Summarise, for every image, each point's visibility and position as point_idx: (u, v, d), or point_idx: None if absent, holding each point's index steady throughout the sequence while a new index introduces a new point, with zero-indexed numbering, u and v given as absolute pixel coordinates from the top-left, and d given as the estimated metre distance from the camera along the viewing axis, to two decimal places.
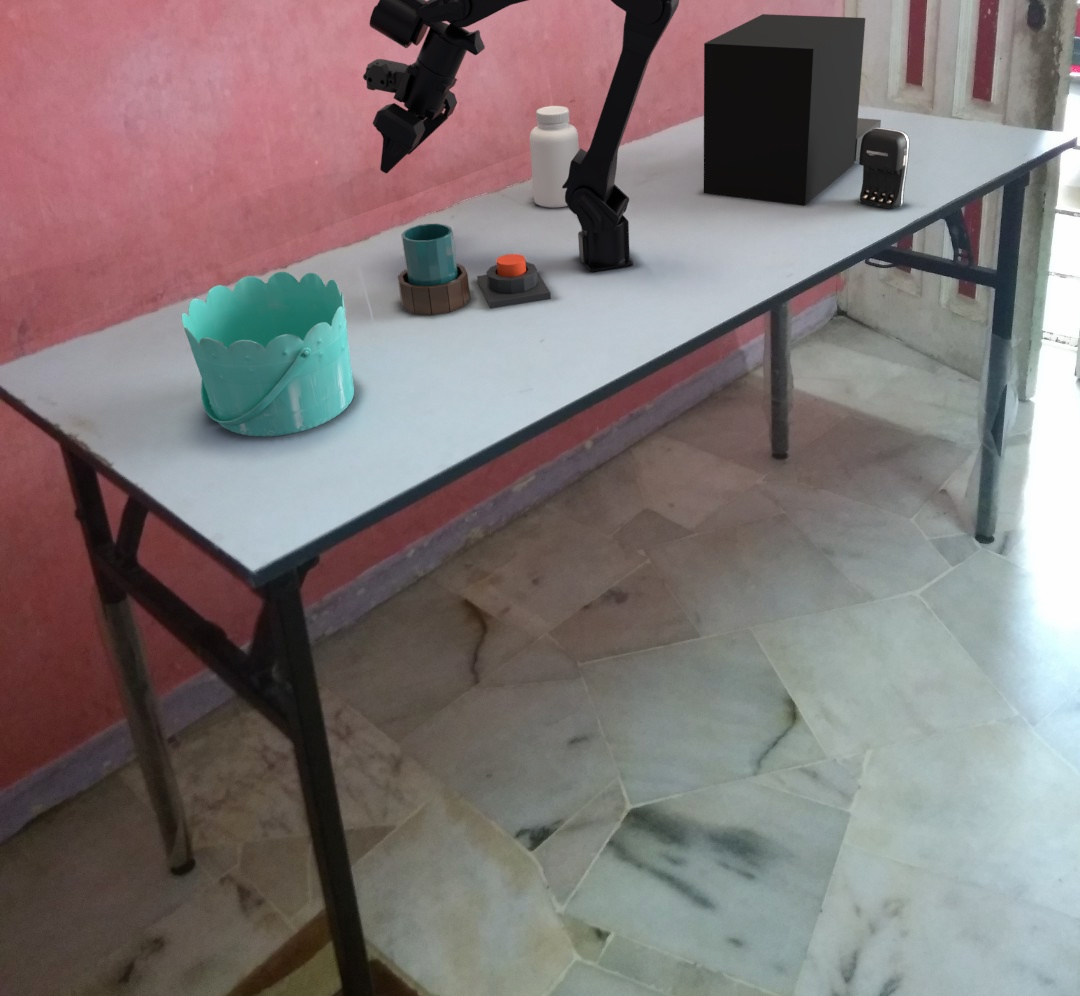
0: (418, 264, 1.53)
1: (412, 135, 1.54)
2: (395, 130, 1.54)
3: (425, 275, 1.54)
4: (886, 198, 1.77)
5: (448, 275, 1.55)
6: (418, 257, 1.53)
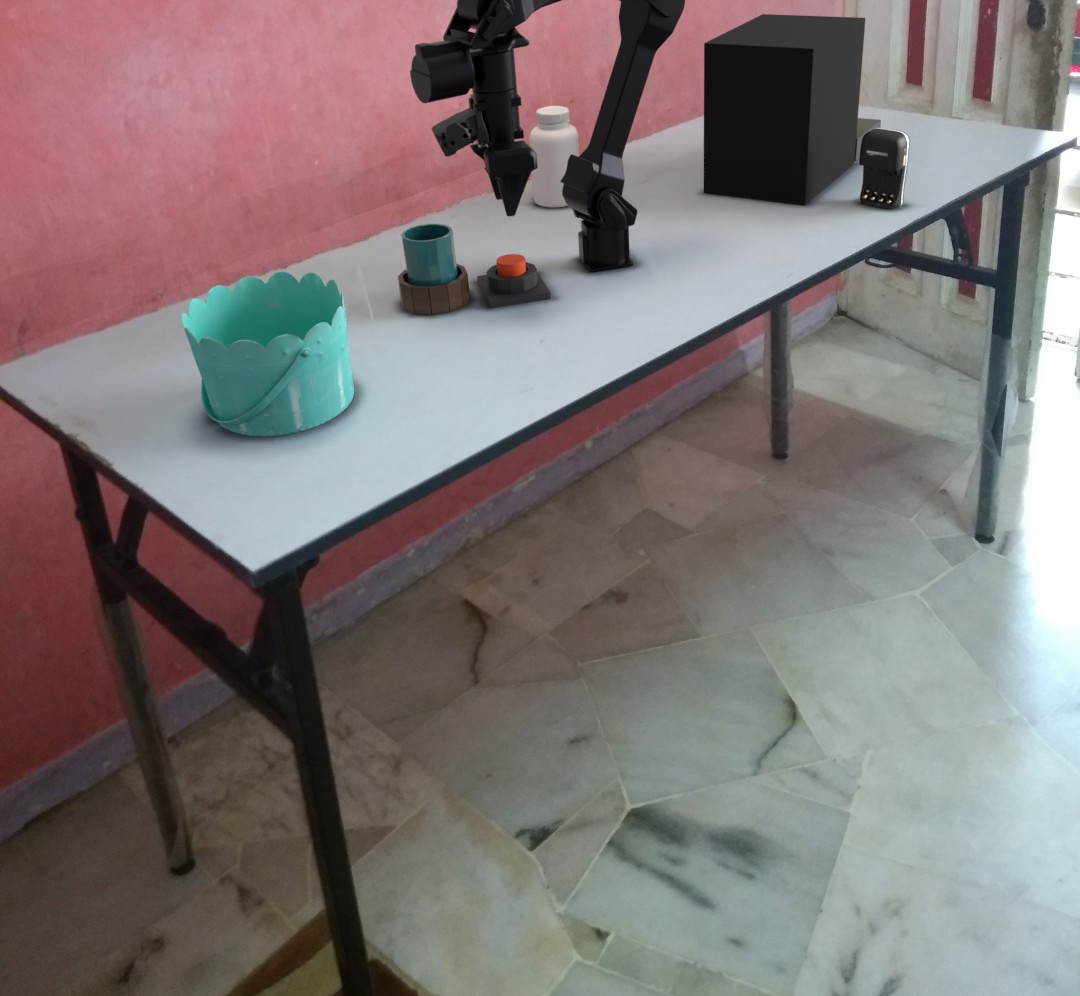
0: (418, 264, 1.53)
1: (533, 155, 1.42)
2: (516, 163, 1.42)
3: (425, 275, 1.54)
4: (886, 198, 1.77)
5: (448, 275, 1.55)
6: (418, 257, 1.53)
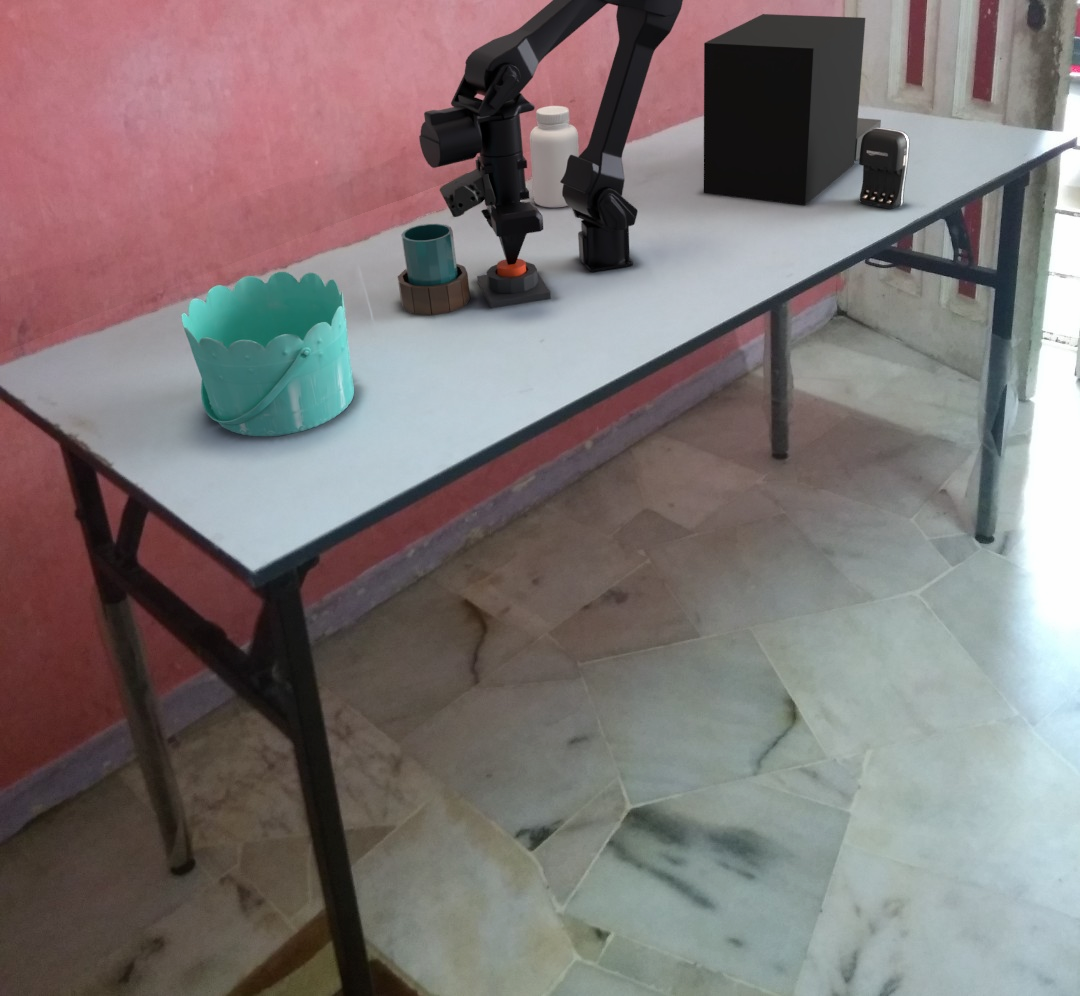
0: (418, 264, 1.53)
1: (539, 218, 1.46)
2: (522, 225, 1.46)
3: (425, 275, 1.54)
4: (886, 198, 1.77)
5: (448, 275, 1.55)
6: (418, 257, 1.53)
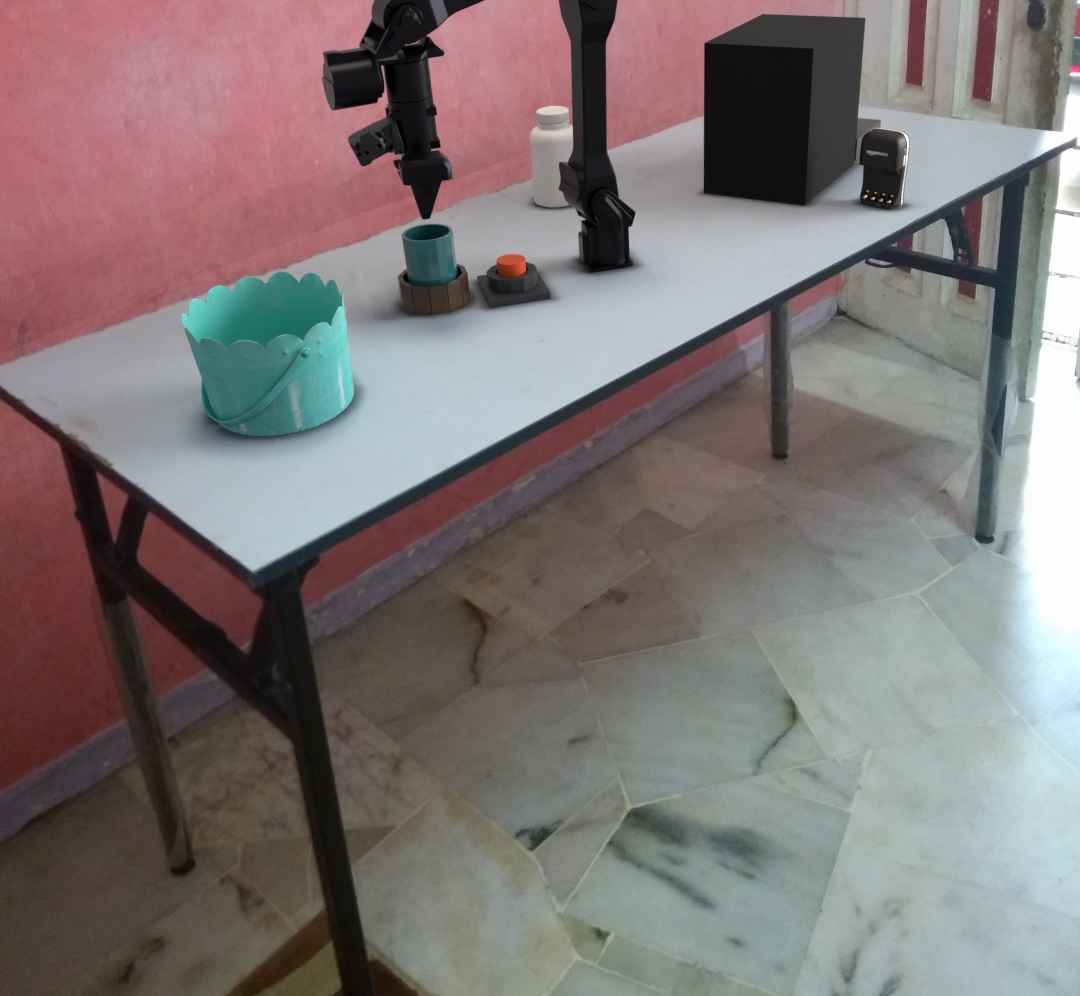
0: (418, 264, 1.53)
1: (447, 166, 1.41)
2: (429, 173, 1.41)
3: (425, 275, 1.54)
4: (886, 198, 1.77)
5: (448, 275, 1.55)
6: (418, 257, 1.53)
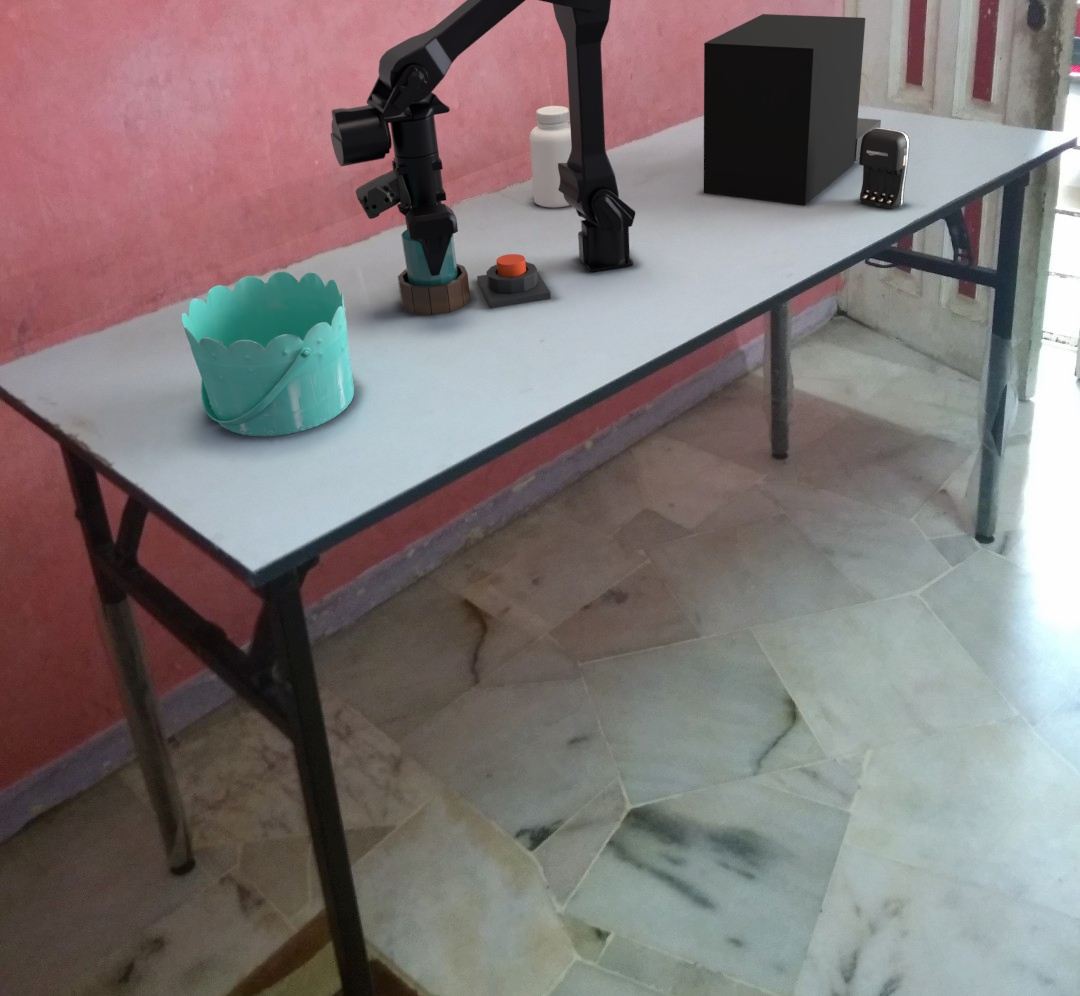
0: (418, 264, 1.53)
1: (453, 220, 1.45)
2: (435, 227, 1.44)
3: (425, 275, 1.54)
4: (886, 198, 1.77)
5: (448, 275, 1.55)
6: (418, 257, 1.53)
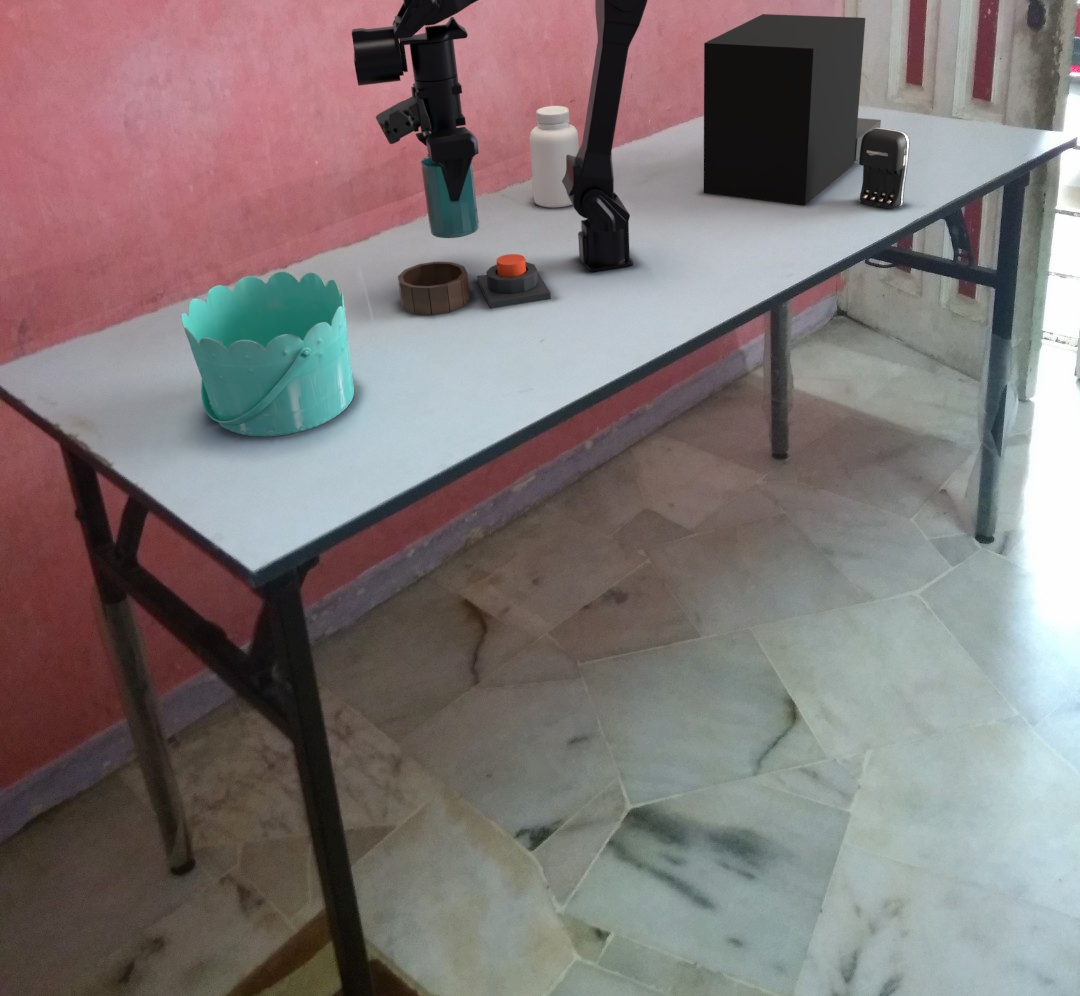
0: (438, 190, 1.55)
1: (474, 141, 1.46)
2: (457, 149, 1.46)
3: (445, 201, 1.56)
4: (886, 198, 1.77)
5: (468, 202, 1.57)
6: (438, 183, 1.54)
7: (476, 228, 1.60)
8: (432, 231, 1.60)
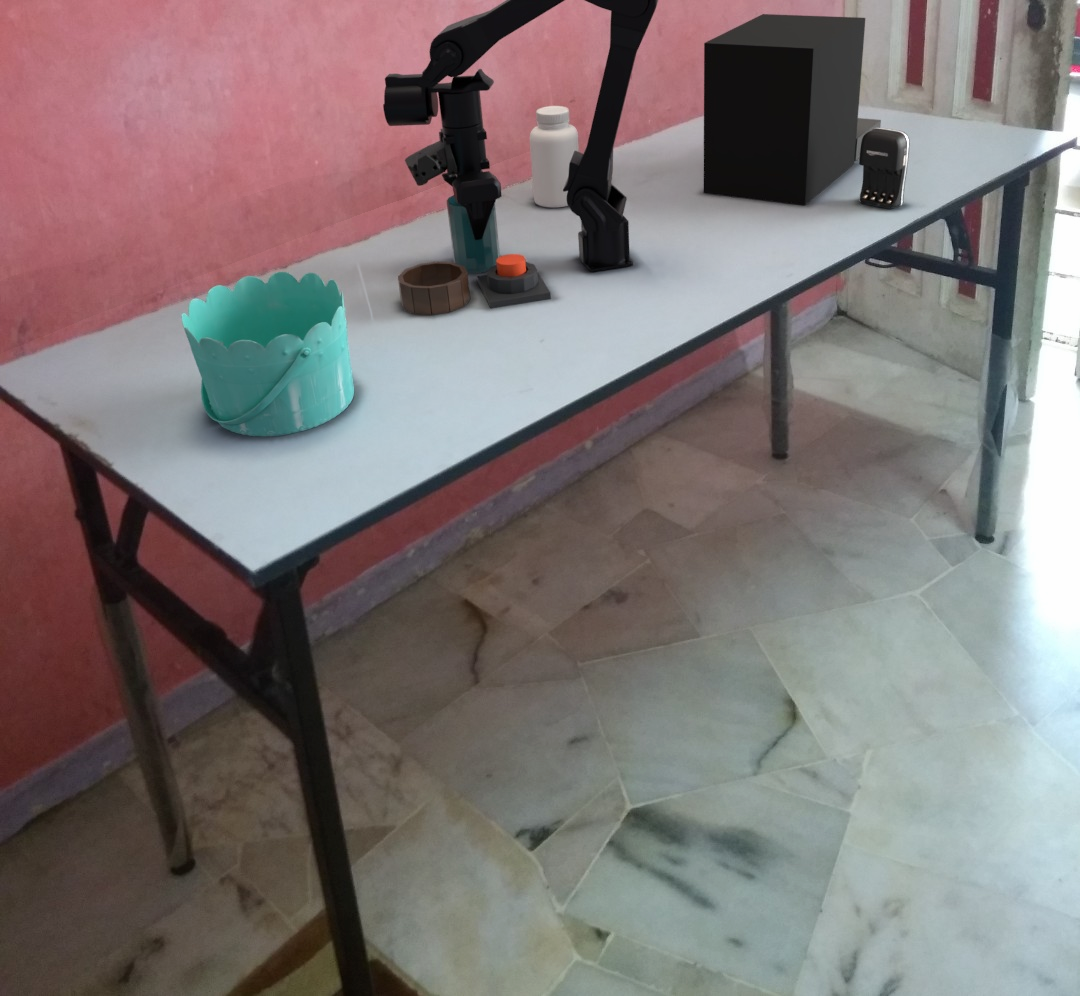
0: (463, 228, 1.64)
1: (497, 185, 1.55)
2: (481, 192, 1.55)
3: (469, 238, 1.64)
4: (886, 198, 1.77)
5: (490, 239, 1.66)
6: (462, 221, 1.63)
7: None
8: None
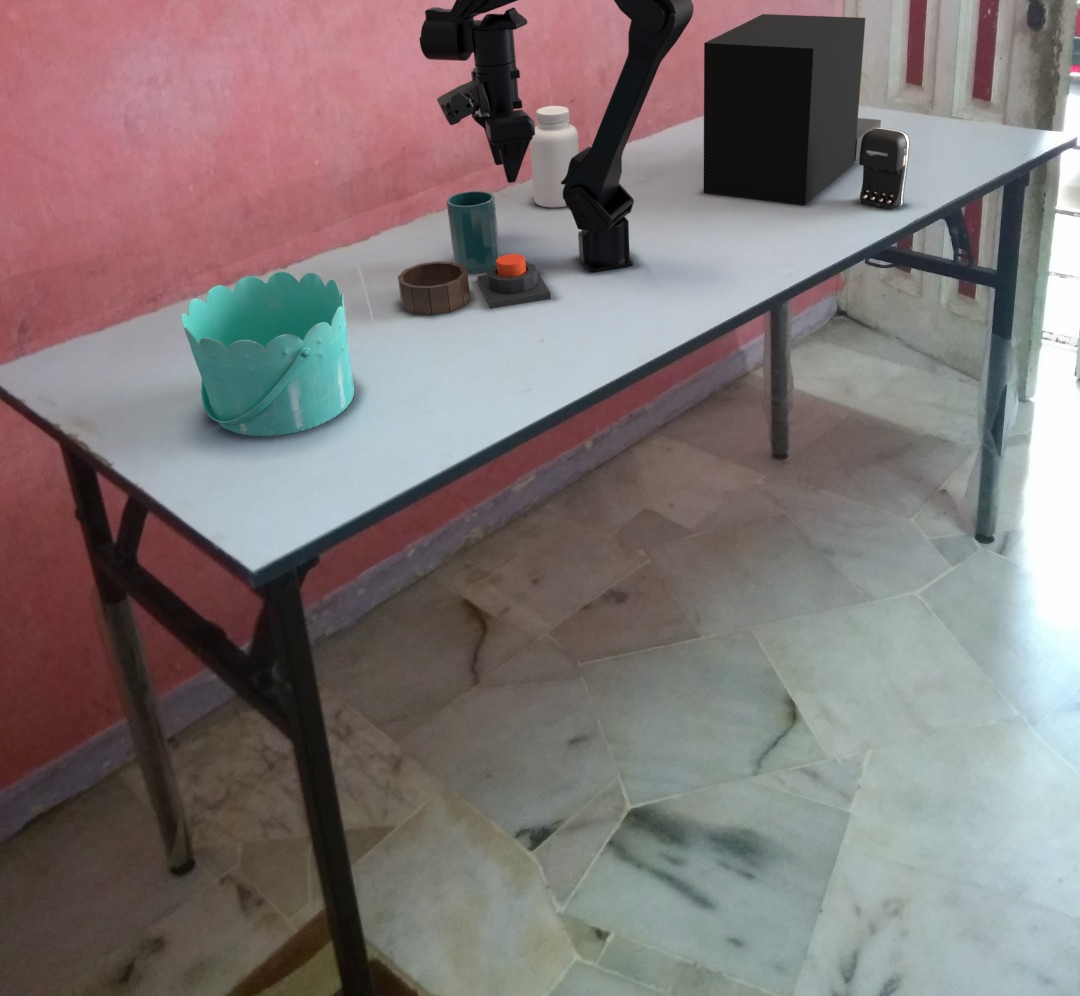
0: (463, 228, 1.64)
1: (531, 123, 1.55)
2: (515, 130, 1.55)
3: (469, 238, 1.64)
4: (886, 198, 1.77)
5: (490, 239, 1.66)
6: (462, 221, 1.63)
7: None
8: None
